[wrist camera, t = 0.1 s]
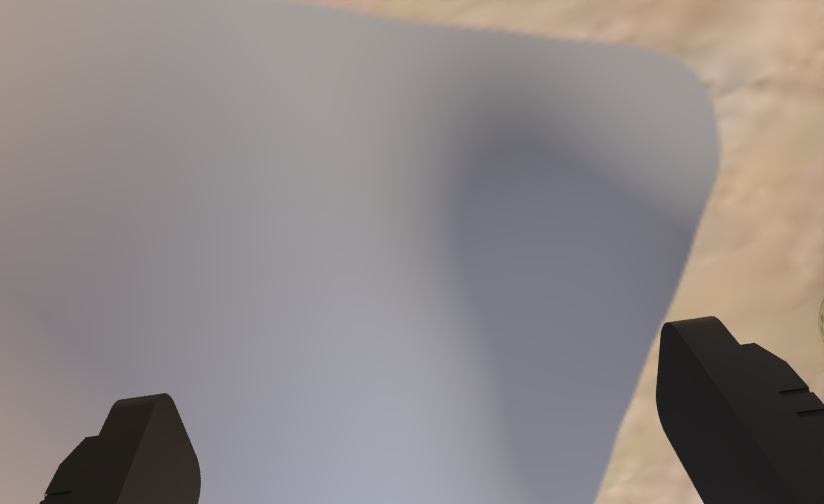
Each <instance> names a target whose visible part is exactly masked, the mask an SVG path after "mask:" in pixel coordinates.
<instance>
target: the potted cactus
mask: <svg viewBox="0 0 824 504" xmlns="http://www.w3.org/2000/svg"><path fill="white" fill-rule="evenodd" d="M819 330H820V334H821V337H822V339H823V342H824V301H823V303H822V306H821V310H820V314H819Z"/></svg>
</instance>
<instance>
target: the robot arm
mask: <svg viewBox="0 0 824 504" xmlns="http://www.w3.org/2000/svg"><path fill="white" fill-rule="evenodd" d="M656 404H657V410H658V415H659V418H660V422H661V425H662V427H663V430H664V432H665V434H666V436H667V437H668V439H669V441H670V443H671V445H672V447H673V448H674V450H675V452H676V454H677V456H678V457H679V459H680V461H681V463H682V465H683V466H684V468H685V470H686V472H687V474H688V475H689V477H690V479H691V481H692V483H693V484H694V486H695V488H696V490H697V492H698V494H699V495H700V497H701V499H702V501H703V503H704V504H824V404H823V403H822V401H821V400H820V399H819V398H818V397H817V396H816V395H815V394H814V392H811V393H810V391H809V387H808V386H807V385H806V383H805V382H804V381H803V380H802V379H801V378H800V377H799V376H798V374H797V373H796V372H795V371H794V370H793V369H792V368H791V367H790V365H789V364H788V363H787V362H785V361H784V360H782V359H780V358H779V357H777V356H776V355H774V354H772V353H771V352H769V351H767V350H766V349H764V348H762V347H761V346H759V345H757V344H756V343H750V344H743V345H740V344H739V343H738V342H737V341H736V339H735V338H734V337H733V336H732V334H731V333H730V332H729V331H728V330H727V328H726V327H725V326H724V325H723V324H722V322H721V321H720V320H719V319H717V318H716V317H714V316H709V317H702V318H695V319H688V320H681V321H674V322H667V323H665V324H664V325H663V327H662V330H661V338H660V350H659V362H658V374H657V386H656ZM200 487H201V477H200V468H199V463H198V459H197V457H196V454H195V452H194V449H193V447H192V444H191V442H190V439H189V437H188V435H187V432H186V430H185V427H184V425H183V423H182V420H181V418H180V416H179V413H178V411H177V408H176V406H175V403H174V401H173V400H172V398H171V397H170V396H169V395H168V394H166V393H163V394H156V395H149V396H143V397H136V398H129V399H121V400H118V401H117V402H115V404H114V405H113V406H112V408H111V410H110V413H109V414H108V417H107V419H106V421H105V423H104V425H103V427H102V429H101V431H100V434H99V436H92V437H86V438H85V439H84V440H83V441H82V442H81V443H80V444H79V445H78V446H77V447H76V448H75V449H74V450H73V451H72V453H70V455H69V456H68V457H67V458H66V459H65V460H64V461H63V462H62V463H61V464H60V465H59V467H58V469H57V471H56V473H55V475H54V477H53V479H52V481H51V483H50V484H49V487H48V488H47V490H46V492H45V495H44V496H45V499H44V501H41V502H40V504H198V500H199V496H200Z"/></svg>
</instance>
